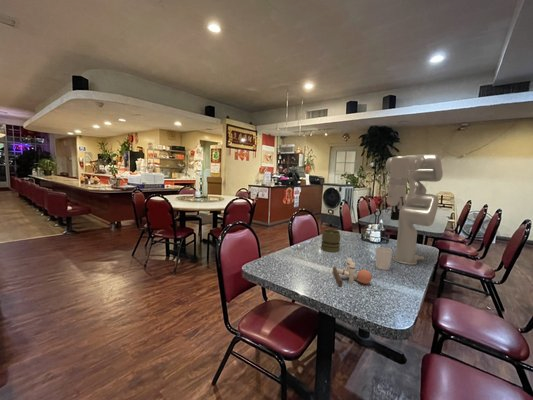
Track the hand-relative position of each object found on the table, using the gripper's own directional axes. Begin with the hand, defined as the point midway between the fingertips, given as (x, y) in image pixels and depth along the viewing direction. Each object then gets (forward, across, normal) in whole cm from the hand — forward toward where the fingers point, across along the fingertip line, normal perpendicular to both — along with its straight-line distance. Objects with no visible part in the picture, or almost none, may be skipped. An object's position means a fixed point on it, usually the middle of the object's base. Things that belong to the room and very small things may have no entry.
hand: (394, 219), depth 118 cm
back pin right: (+27, +10, -22) cm, 36 cm away
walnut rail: (+27, +12, -28) cm, 41 cm away
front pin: (+26, +12, -19) cm, 34 cm away
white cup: (+27, -7, -1) cm, 28 cm away
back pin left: (+27, +14, -22) cm, 38 cm away
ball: (+24, +15, -17) cm, 33 cm away
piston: (+27, -33, -24) cm, 49 cm away
